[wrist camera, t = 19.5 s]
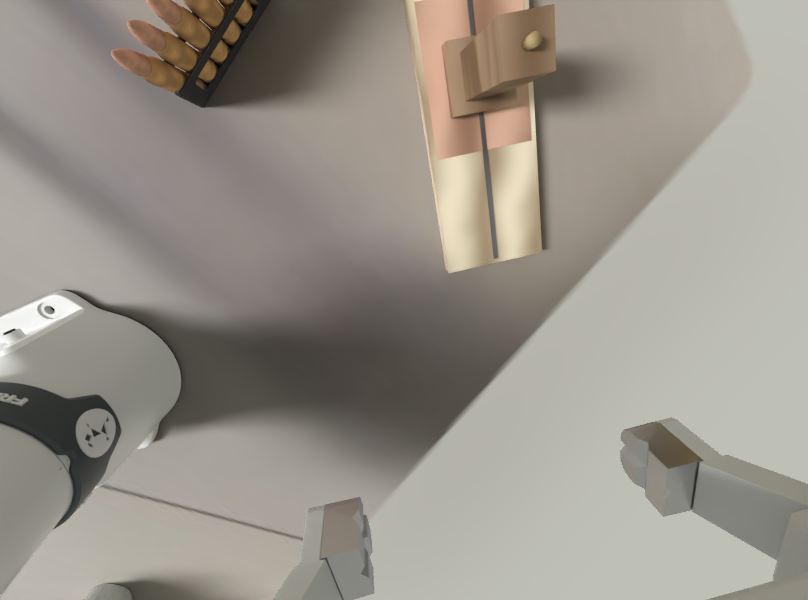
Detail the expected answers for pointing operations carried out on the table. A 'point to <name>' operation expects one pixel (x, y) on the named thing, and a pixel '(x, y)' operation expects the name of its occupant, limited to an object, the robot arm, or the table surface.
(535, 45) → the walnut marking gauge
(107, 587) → the house plant
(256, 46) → the table surface
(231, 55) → the ammunition clip
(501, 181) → the maple board
